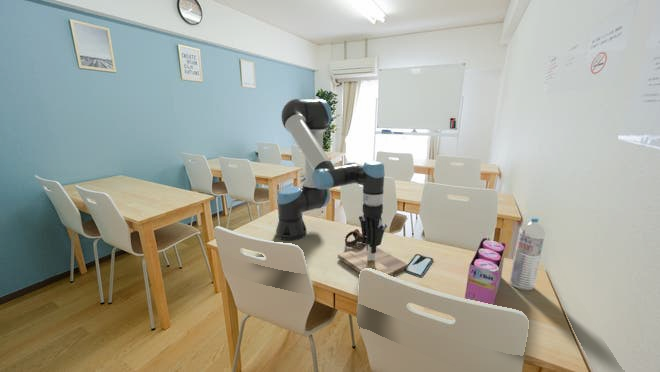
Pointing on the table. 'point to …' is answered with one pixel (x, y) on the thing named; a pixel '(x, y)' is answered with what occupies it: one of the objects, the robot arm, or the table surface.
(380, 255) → the floor boards
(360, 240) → the pottery mug
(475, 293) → the gum box
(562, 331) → the table surface
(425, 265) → the smartphone
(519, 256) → the water bottle
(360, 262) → the plank
